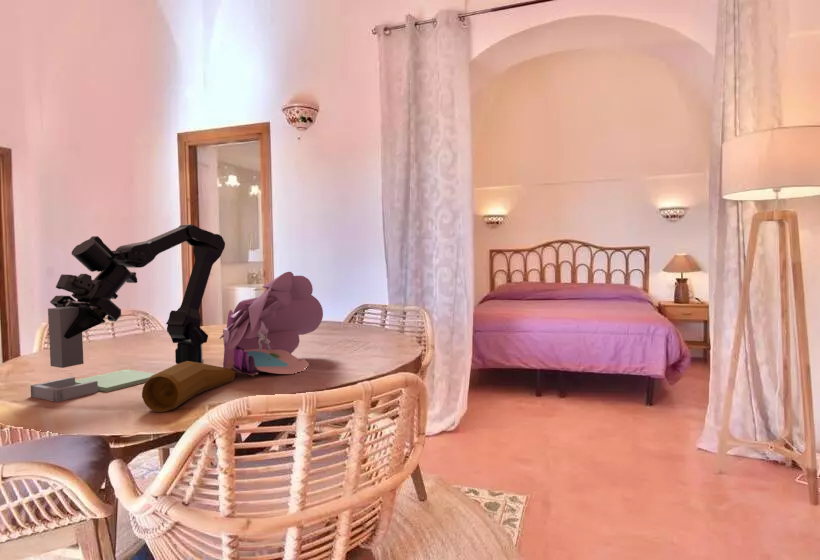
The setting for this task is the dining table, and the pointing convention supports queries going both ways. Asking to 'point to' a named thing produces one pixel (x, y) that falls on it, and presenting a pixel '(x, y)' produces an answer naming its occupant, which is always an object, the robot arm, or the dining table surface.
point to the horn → (182, 384)
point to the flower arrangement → (271, 327)
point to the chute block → (61, 347)
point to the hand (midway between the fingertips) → (59, 337)
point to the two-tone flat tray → (88, 385)
